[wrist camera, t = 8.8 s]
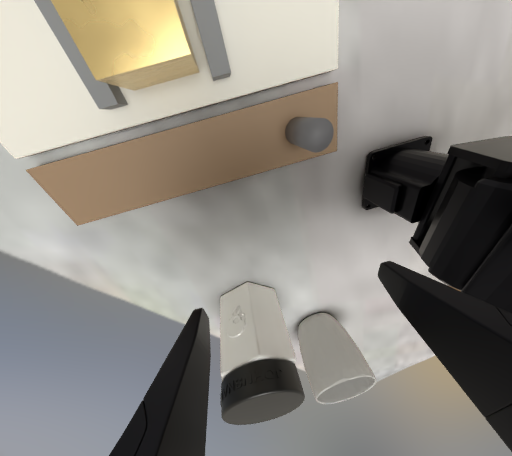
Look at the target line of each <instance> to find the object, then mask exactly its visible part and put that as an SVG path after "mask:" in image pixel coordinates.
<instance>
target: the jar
mask: <svg viewBox="0 0 512 456" xmlns="http://www.w3.org/2000/svg"><path fill="white" fill-rule="evenodd" d="M220 342H221V343H220V357H221V358H220V359H221V360H220V361H221V363H220V366H221V367H220V369H221V378H222V384H221V407H222V419H223V420H224V421H225V422H227V423H229V424H235V425H246V424H254V423H260V422H264V421H268V420H271V419H275V418H277V417H280V416H283V415H285V414H287V413H289V412H291V411H293V410H294V409H296V408H297V407H299V406H300V405H301V404H302V403H303V401H304V398H305V396H304V392H303V388H302V385H301V382H300V378H299V375H298V372H297V368H296V366H295V363H296V356H295V353H294V350H293V347H292V343H291V340H290V337H289V334H288V331H287V327H286V324H285V321H284V318H283V315H282V311H281V308H280V305H279V302H278V299H277V295H276V292H275V290H274V289H273V288H269V287H265V286H261V285H258V284H254V283H250V282H246V283H244V284H243V285H241V286H239V287H237V288H235V289H233V290H232V291H230V292H228V293H226V294H224V295H222V296H221V297H220Z"/></svg>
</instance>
